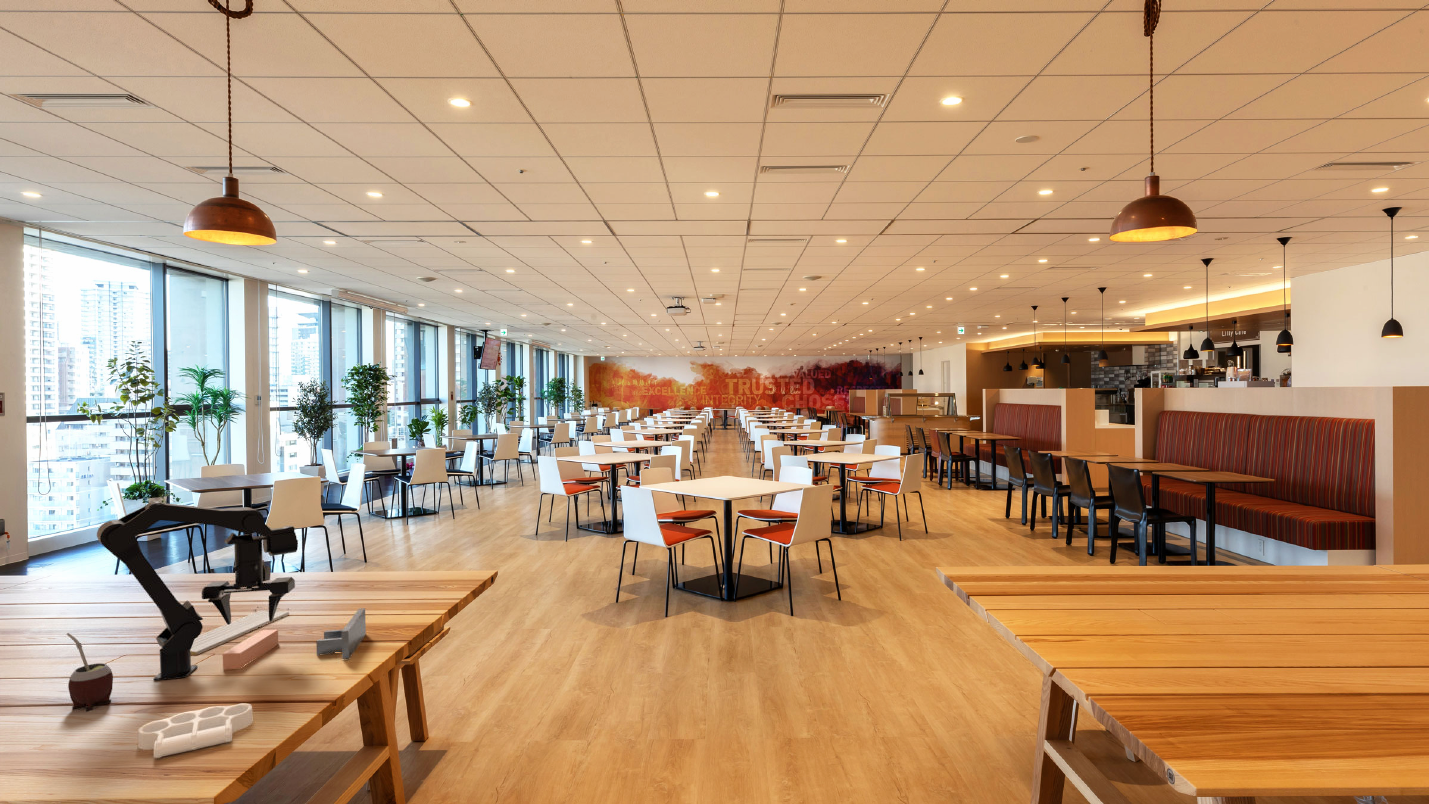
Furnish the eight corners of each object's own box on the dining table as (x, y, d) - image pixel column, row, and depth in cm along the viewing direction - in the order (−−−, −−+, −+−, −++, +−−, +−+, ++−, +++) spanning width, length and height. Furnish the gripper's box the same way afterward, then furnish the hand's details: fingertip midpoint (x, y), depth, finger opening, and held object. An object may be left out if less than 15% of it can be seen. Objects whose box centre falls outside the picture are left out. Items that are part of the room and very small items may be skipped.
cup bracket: (349, 659, 177) (348, 631, 177) (310, 663, 175) (309, 634, 175) (365, 634, 195) (365, 608, 194) (330, 637, 193) (330, 611, 192)
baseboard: (155, 654, 183) (196, 657, 181) (155, 643, 183) (196, 646, 181) (252, 614, 214) (289, 616, 212) (252, 604, 214) (289, 607, 212)
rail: (240, 669, 172) (240, 653, 172) (223, 670, 172) (222, 653, 172) (278, 645, 188) (277, 629, 188) (262, 645, 188) (262, 630, 188)
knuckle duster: (131, 768, 129) (142, 735, 141) (252, 741, 138) (253, 711, 151) (130, 750, 129) (142, 717, 141) (251, 723, 138) (252, 695, 151)
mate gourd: (109, 708, 152) (106, 636, 152) (59, 717, 148) (56, 643, 148) (117, 694, 159) (114, 626, 158) (69, 703, 155) (67, 632, 154)
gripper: (301, 549, 189) (302, 609, 190) (219, 554, 185) (221, 615, 185) (286, 560, 179) (288, 623, 179) (199, 565, 174) (201, 629, 175)
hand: (250, 622), depth 180 cm, fingers open, 9 cm apart
